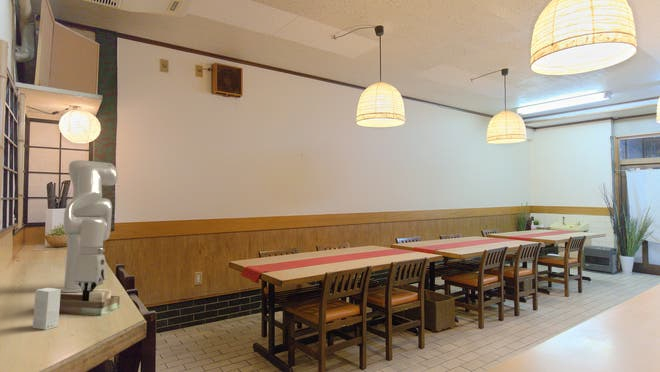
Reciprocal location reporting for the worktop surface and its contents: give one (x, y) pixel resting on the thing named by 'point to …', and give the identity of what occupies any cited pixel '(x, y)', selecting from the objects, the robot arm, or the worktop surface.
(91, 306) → the channel
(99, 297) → the birch block
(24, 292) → the worktop surface
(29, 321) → the worktop surface
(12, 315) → the worktop surface
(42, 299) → the skincare box
